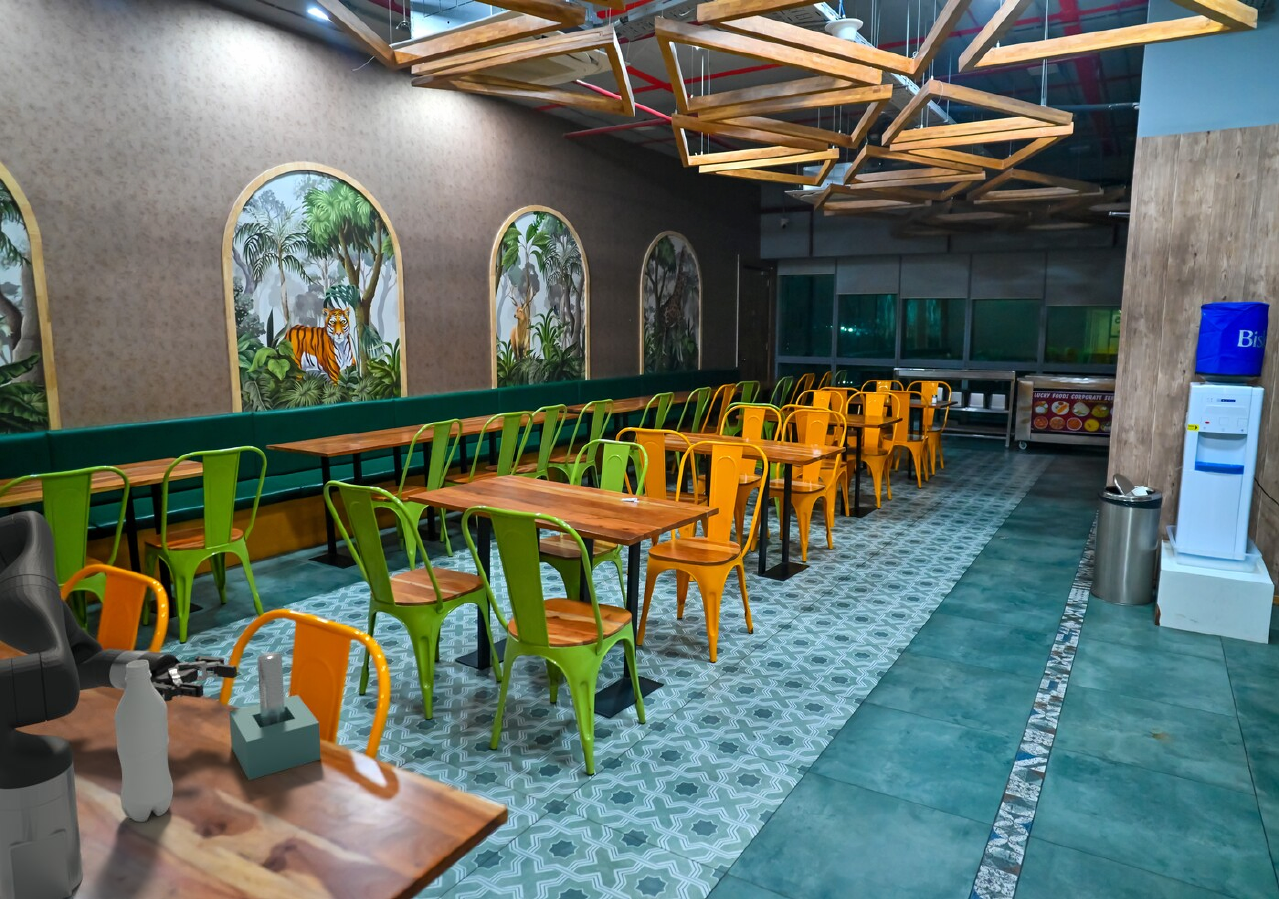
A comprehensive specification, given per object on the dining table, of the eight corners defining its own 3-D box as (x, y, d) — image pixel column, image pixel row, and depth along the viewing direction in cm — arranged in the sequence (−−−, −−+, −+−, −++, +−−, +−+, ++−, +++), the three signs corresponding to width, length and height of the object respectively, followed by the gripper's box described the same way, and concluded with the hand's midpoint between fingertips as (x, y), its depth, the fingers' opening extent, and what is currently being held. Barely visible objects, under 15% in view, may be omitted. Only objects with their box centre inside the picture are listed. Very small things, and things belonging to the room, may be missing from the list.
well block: (320, 759, 148) (319, 722, 147) (248, 780, 141) (246, 741, 140) (299, 729, 159) (297, 694, 158) (231, 747, 152) (229, 711, 151)
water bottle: (112, 817, 130) (99, 667, 126) (156, 795, 136) (146, 651, 133) (139, 830, 127) (127, 676, 123) (184, 807, 133) (173, 660, 129)
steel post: (289, 751, 150) (284, 657, 147) (265, 758, 147) (260, 663, 145) (283, 742, 153) (278, 650, 150) (260, 749, 151) (255, 655, 148)
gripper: (111, 668, 147) (188, 677, 144) (172, 639, 161) (244, 647, 157) (114, 707, 148) (191, 718, 145) (175, 676, 162) (247, 684, 158)
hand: (219, 681), depth 151 cm, fingers open, 8 cm apart
